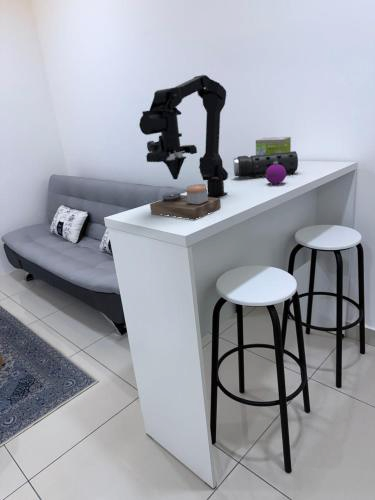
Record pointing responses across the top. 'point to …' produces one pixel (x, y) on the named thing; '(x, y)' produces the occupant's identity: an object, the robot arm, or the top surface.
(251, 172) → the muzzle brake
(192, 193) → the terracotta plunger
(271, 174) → the christmas ornament
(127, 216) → the top surface
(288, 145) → the tea box
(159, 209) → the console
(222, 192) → the robot arm
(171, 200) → the charcoal plunger
